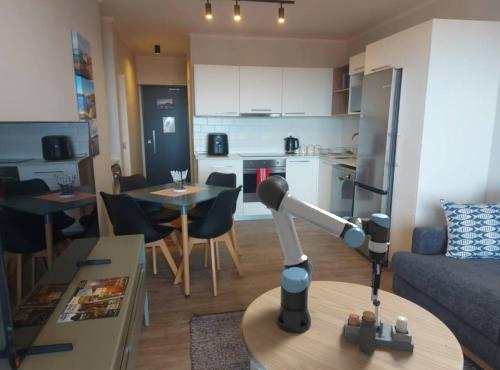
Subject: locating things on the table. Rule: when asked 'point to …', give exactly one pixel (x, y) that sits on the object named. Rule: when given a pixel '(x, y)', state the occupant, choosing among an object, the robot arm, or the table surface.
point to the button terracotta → (354, 320)
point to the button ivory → (401, 324)
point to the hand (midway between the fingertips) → (374, 300)
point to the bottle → (367, 333)
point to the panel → (382, 336)
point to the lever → (376, 311)
